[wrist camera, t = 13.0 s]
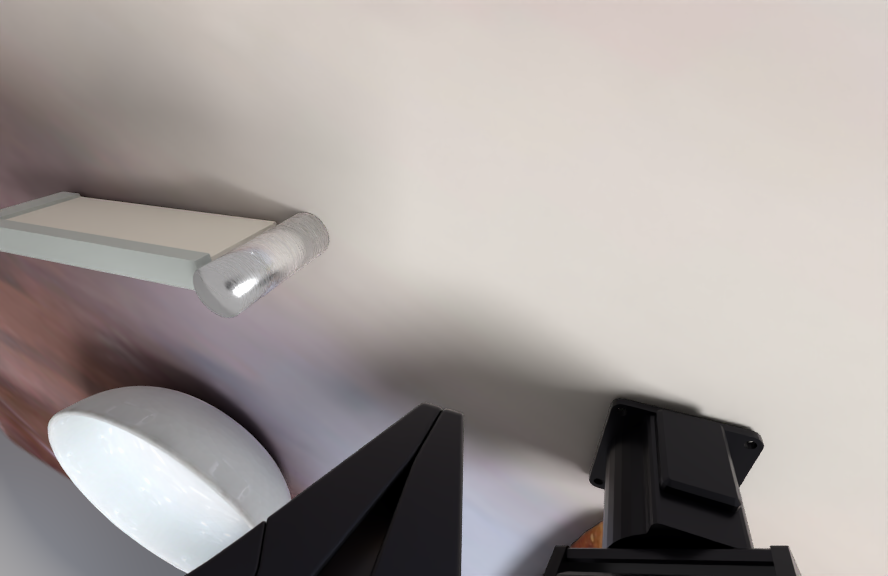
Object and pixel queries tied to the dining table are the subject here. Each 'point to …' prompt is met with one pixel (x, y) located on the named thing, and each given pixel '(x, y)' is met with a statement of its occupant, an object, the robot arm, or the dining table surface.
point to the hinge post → (260, 264)
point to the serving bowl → (168, 470)
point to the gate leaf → (123, 236)
